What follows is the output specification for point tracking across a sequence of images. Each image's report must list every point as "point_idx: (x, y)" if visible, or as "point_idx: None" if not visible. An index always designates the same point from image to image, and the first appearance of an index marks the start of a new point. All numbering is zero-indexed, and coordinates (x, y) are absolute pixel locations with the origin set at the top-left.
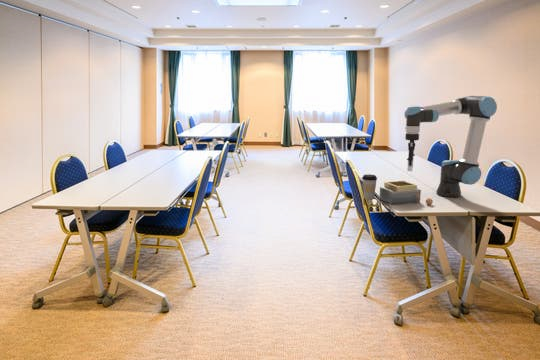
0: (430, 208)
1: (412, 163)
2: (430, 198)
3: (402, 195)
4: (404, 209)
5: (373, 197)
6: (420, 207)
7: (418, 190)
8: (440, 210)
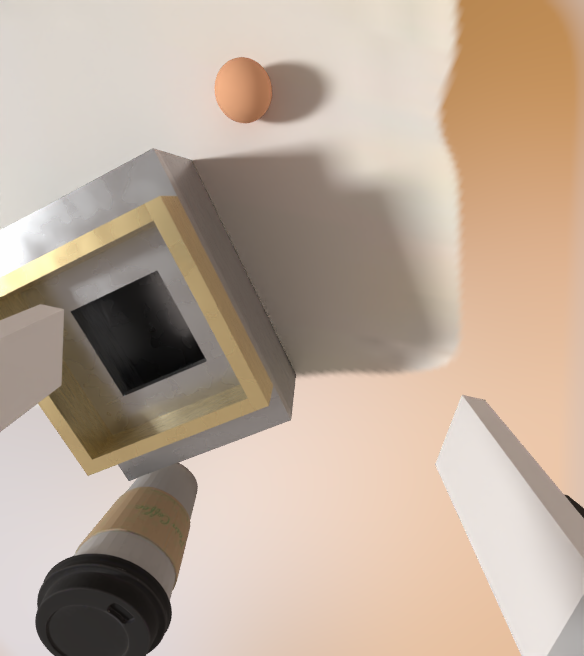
0: (361, 111)
1: (572, 511)
2: (240, 74)
3: (252, 323)
4: (400, 312)
5: (172, 468)
6: (339, 187)
7: (169, 176)
8: (415, 35)
